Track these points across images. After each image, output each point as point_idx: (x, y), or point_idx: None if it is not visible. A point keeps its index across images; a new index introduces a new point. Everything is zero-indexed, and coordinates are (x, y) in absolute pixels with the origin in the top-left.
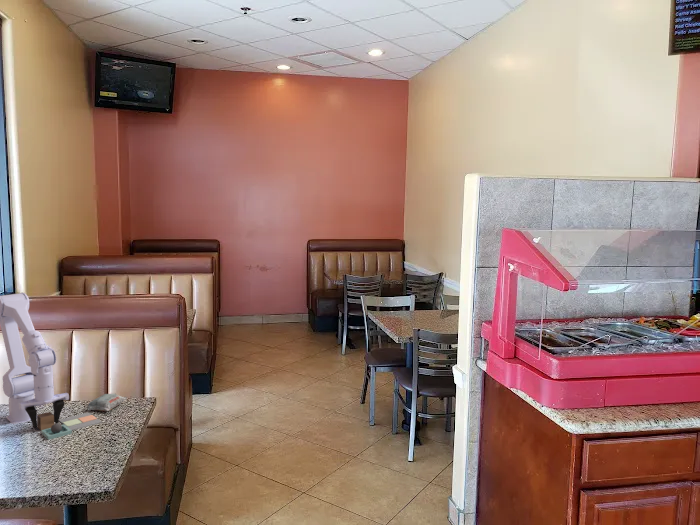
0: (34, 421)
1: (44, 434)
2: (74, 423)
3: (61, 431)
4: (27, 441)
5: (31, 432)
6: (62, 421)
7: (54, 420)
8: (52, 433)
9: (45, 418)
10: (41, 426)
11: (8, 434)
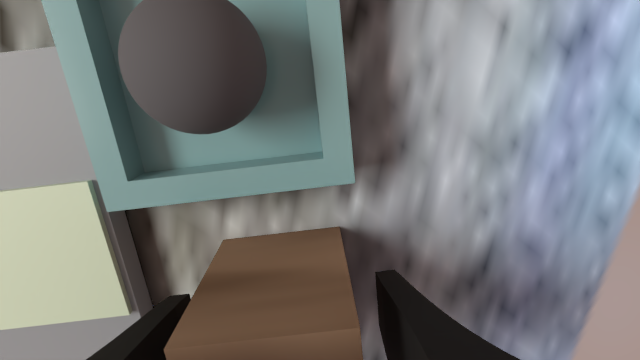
0: (431, 312)
1: (342, 65)
2: (11, 213)
3: None
4: (494, 79)
5: None
6: None
7: None
8: None
9: (290, 320)
10: (340, 258)
11: (558, 340)
